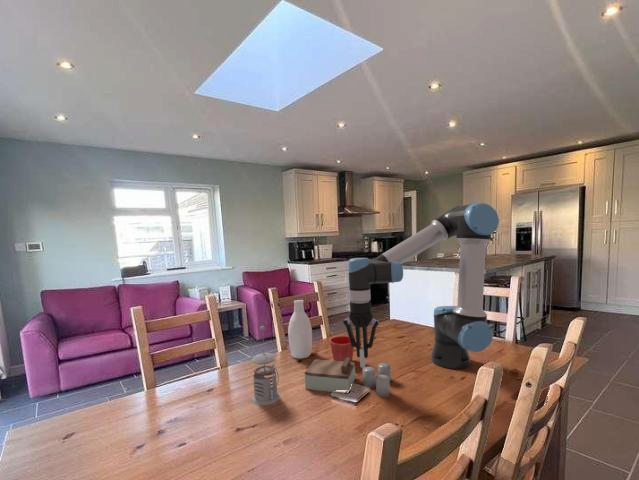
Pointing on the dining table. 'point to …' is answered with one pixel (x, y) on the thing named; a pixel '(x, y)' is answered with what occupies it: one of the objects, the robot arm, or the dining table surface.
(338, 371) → the walnut lid
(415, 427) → the dining table surface
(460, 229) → the robot arm
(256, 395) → the french press
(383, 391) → the grey rounded cylinder
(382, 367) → the grey cylinder
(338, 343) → the flower pot
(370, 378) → the grey cylinder
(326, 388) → the sage box
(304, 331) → the bottle
